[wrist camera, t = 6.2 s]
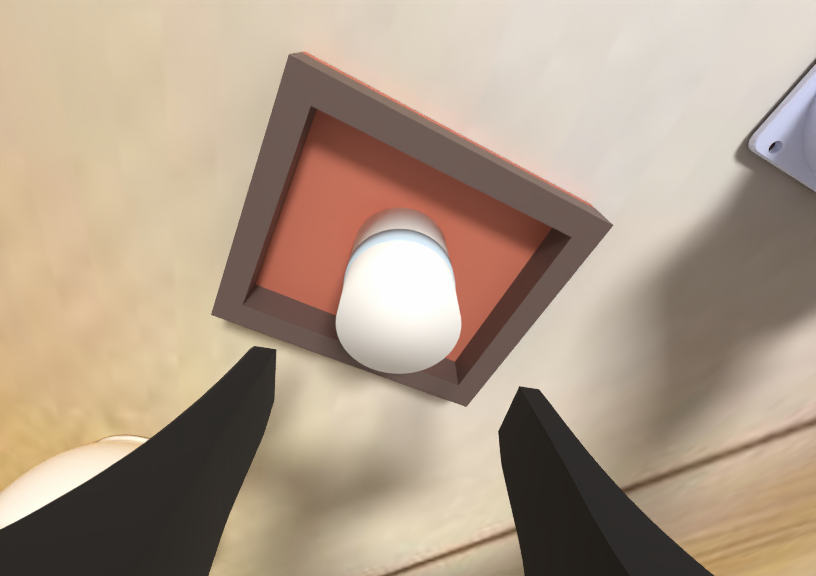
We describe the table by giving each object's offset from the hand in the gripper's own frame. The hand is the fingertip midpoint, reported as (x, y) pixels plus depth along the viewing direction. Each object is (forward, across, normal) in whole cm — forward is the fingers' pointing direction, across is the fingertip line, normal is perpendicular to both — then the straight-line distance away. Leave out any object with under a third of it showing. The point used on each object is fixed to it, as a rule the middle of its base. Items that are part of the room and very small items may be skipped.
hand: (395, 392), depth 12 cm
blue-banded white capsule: (+9, 0, 0) cm, 9 cm away
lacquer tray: (+10, 0, 0) cm, 10 cm away
